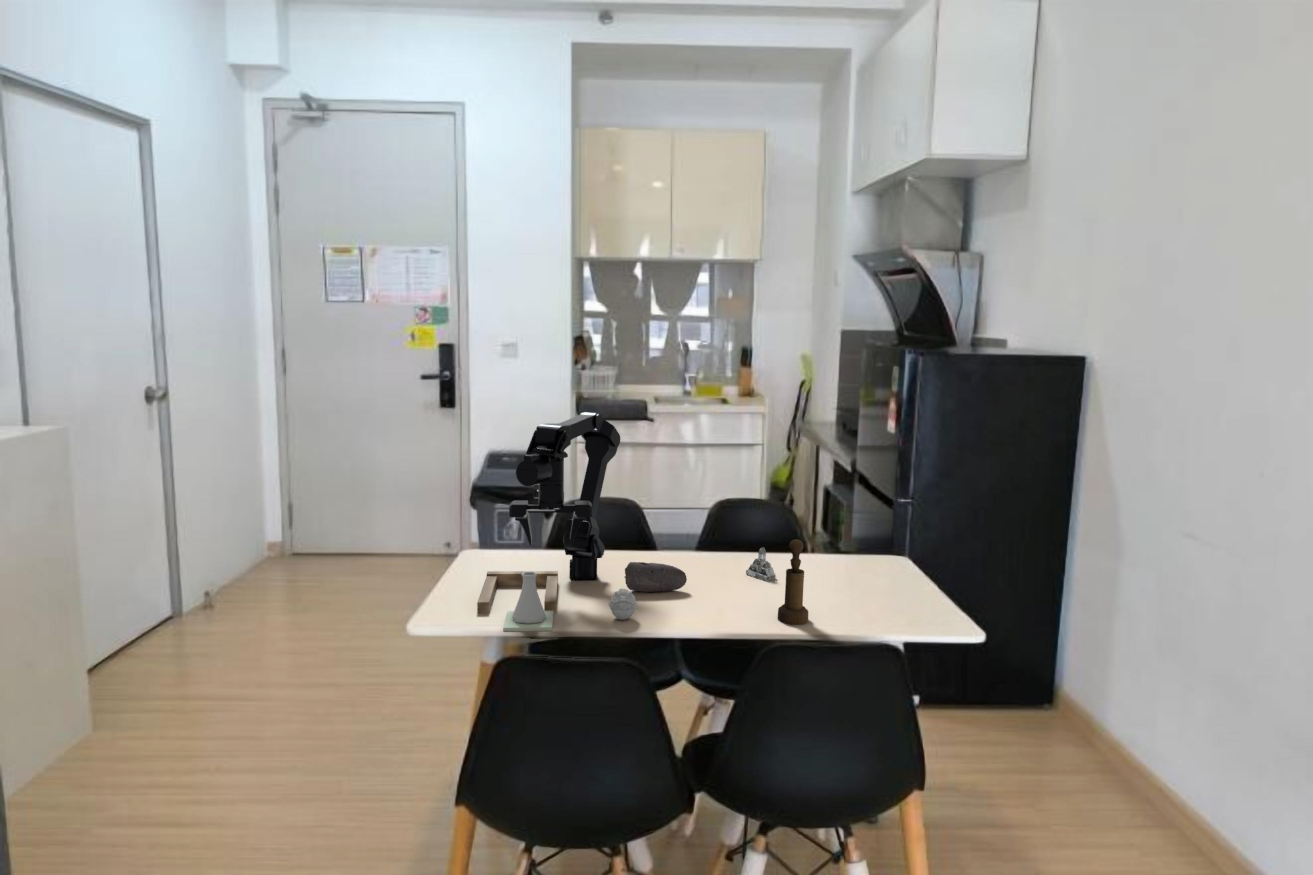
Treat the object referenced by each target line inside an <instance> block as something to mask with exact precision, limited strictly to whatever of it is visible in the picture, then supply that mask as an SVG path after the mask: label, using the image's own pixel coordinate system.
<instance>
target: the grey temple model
mask: <svg viewBox="0 0 1313 875" xmlns="http://www.w3.org/2000/svg"><path fill="white" fill-rule="evenodd" d="M757 554H758V558H754V560H753V562H752V564H750V565H749V567H748V568H747V569H746V570H745V575H746V574H748V575H747V576H749V575H751V576H750V577H752V576H754V577H753V578H755V577H757V578H756V579H758V578H760V579H759V580H761V579H762V580H761V581H764V580H765V582H767V580H768V581H772V580H774V578H775V579H776V577H777V576H776V575H777V574H776V573H775V571H774V568H773V567H772V564H771V562H769V561H768V560H766V559H767V552H766V549H765V547H760V548H759V550H758V552H757Z"/></svg>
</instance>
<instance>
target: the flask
mask: <svg viewBox="0 0 1313 875" xmlns="http://www.w3.org/2000/svg"><path fill="white" fill-rule="evenodd" d="M536 576H537V573H536V572H533V570H528V571H527V572H523V573H522V577H523V585H522V586H521V591H520V594H519V597H518V600H517V602H516V606H515V608H514V610H513V611H514V613H513V616H512V618H513V620H514V621H515V622H518V623H527V624H529V623H537V622H542V621H543V620H544V619H545V618H546V615H545V612H544V606H543V605H542V602H541V599H540V595H539V593H538V589H537V586H536Z"/></svg>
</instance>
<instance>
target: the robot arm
mask: <svg viewBox="0 0 1313 875" xmlns="http://www.w3.org/2000/svg"><path fill="white" fill-rule="evenodd" d="M580 436H581V438H582V439H583V440H584V449H585V453H586V455H587V458H588V460H587V465H586V468H585V469H586V470H585V472H584V473H585V474H584V477H583V478H584V479H583V483H582V487H581V491H580V492H581V493H580V496H579V500H574V504H564V503H565V492H564V490H565V489H564V487H565V485H564V484H565V483H564V481H565V479H564V477H565V472H564V471H565V468H564V466H565V460H564V459H565V458H568V457H569V454H568V452H566V451H565V450H566V449H567V448H568V447H569V446H570V445H571V444H572V441H573V439H576V438H578V437H580ZM620 444H621V435H620V432H619V431H618V430H617V428H616V427H615V426H614V425H613V424H612V423H610V422H609V421H607V420H606V419H604V417H603V416H602V414H601V413H598V412H586V411H584V412H581V413H580V414H579V415H577V416H574V417H572V418H569V419H566V420H564V421H562V422H558V423H540V424H539V425H537V426H536V429H535V430H534V431H533V434H532V437H531V439H530V441H529V445H528V447H527V450H526V452H525V455H523V460H522V461H520V463H518V465H517V466H516V467H517V468H516V469H515V476H516V479H517V480H518V482H519V483H520V484H521V485H522V486H525V487H532V486H533V499H538V504H529V501H528V500H513V501H511V502H510V504H509V507H508V508H509V509H508V510H509V512H508V513H509V514H508V516H509V518H514V521H515V522H519V523H520V525H521V526H522V528H523V529H522V530H524V532H525V535H526V539H527V540H528V544H529V546H533V537H532V536H533V535H532V529H531V522H530V521H531V519H530V518H531V516H530V513H531V514H532V513H533V514H536V513H539V514H543V513H544V514H546V513H547V514H548V513H549V514H550V513H551V514H553V513H556V514H561V513H564V514H568V513H569V514H570V513H571V514H572V513H573V515H572V518H568V519H567V521H566V522H565V528H564V532H563V536H562V543H563V548H564V553H565V556H571V559H569V579H570V580H571V581H572V582H577V581H578V582H582V581H583V582H585V581H586V582H589V581H590V582H591V581H595V582H596V581H598V559H602V558H603V556H604V555H605V547H606V546H605V545H604V543H603V541H602V540H601V538H600V537H599V536H600V528H599V524H598V522H597V514H598V508H599V504H600V501H601V500H600V498H601V496H602V489H603V485H604V481H605V476H606V472H607V467H608V464H609V462H611V460H612V459H613V458H614V457H615V456H616V454H617V452H618V447H619V446H620Z"/></svg>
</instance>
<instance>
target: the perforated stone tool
mask: <svg viewBox="0 0 1313 875" xmlns="http://www.w3.org/2000/svg"><path fill="white" fill-rule="evenodd" d="M624 575H625V576H623V577H624V579H625V585H626V588H628V589H629V591H636V592H645V593H646V592H651V593H653V592H654V593H655V592H658V593H659V592H671V591H676V590H677V591H678V590H679V589H681V588H683V587H685V585H686V583H687V580H688V579H687V575H686V572H684V571H683V570H681V569H680V568H679V567H676V566H673V565H669V564H665V563H657V562H640V561H629V563H627V566H626V567H625V568H624Z"/></svg>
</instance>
